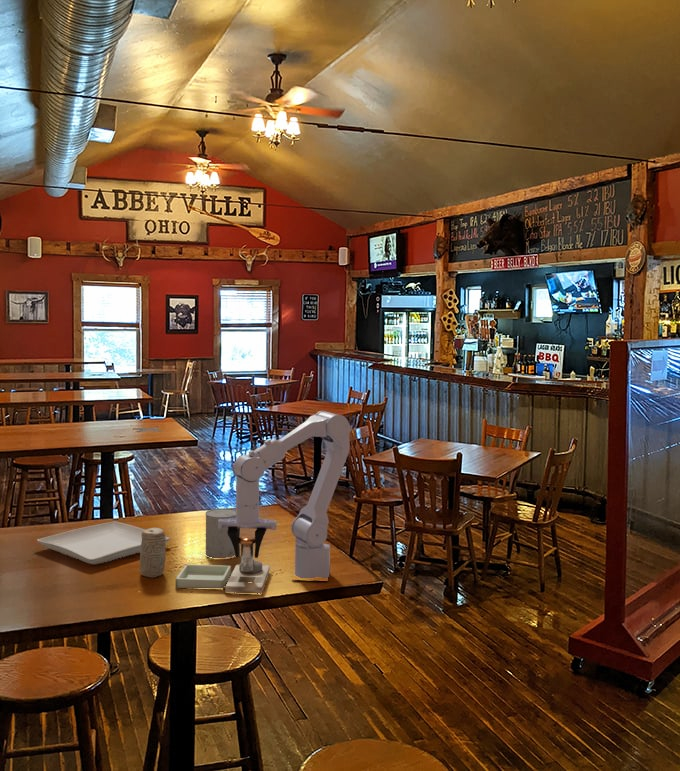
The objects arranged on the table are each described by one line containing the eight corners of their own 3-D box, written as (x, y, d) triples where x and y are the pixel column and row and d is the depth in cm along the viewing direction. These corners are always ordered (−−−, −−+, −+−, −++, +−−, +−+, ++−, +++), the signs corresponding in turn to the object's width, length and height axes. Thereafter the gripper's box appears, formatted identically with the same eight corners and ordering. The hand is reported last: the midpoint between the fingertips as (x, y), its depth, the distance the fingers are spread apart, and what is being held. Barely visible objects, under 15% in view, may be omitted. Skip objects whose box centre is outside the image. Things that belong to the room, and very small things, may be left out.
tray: (230, 574, 195) (231, 565, 195) (223, 590, 184) (223, 580, 184) (186, 573, 195) (186, 564, 195) (175, 588, 184) (175, 578, 184)
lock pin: (256, 566, 188) (257, 536, 187) (254, 572, 184) (254, 541, 183) (239, 566, 188) (240, 535, 187) (236, 572, 184) (237, 541, 183)
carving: (150, 581, 189) (150, 535, 188) (134, 574, 194) (133, 529, 193) (171, 575, 194) (171, 530, 193) (154, 568, 199) (154, 524, 198)
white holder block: (269, 572, 197) (269, 555, 197) (261, 595, 181) (261, 576, 181) (236, 571, 197) (236, 554, 197) (225, 594, 181) (225, 575, 181)
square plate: (91, 572, 195) (91, 558, 195) (35, 551, 212) (34, 538, 212) (171, 548, 217) (171, 535, 217) (114, 530, 233) (114, 519, 233)
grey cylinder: (206, 561, 206) (207, 518, 204) (203, 550, 215) (204, 509, 214) (241, 558, 208) (241, 516, 207) (236, 548, 217) (236, 507, 216)
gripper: (215, 506, 181) (215, 560, 182) (274, 508, 180) (273, 562, 181) (221, 499, 188) (220, 551, 189) (277, 501, 187) (277, 553, 188)
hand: (247, 556), depth 186 cm, fingers closed on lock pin, 4 cm apart
